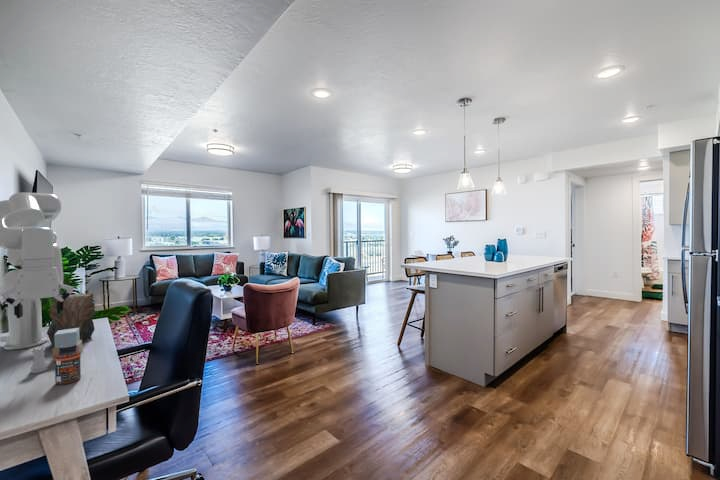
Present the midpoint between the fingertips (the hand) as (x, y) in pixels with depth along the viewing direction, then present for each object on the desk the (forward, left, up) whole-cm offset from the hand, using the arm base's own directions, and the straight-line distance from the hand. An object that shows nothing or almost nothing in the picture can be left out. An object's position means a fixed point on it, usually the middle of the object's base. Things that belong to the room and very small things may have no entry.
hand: (40, 315), depth 107 cm
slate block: (+1, +12, -14) cm, 18 cm away
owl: (-8, +30, -19) cm, 36 cm away
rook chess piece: (-1, 0, -19) cm, 19 cm away
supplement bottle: (+14, -11, -19) cm, 26 cm away
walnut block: (+1, +12, -19) cm, 22 cm away
